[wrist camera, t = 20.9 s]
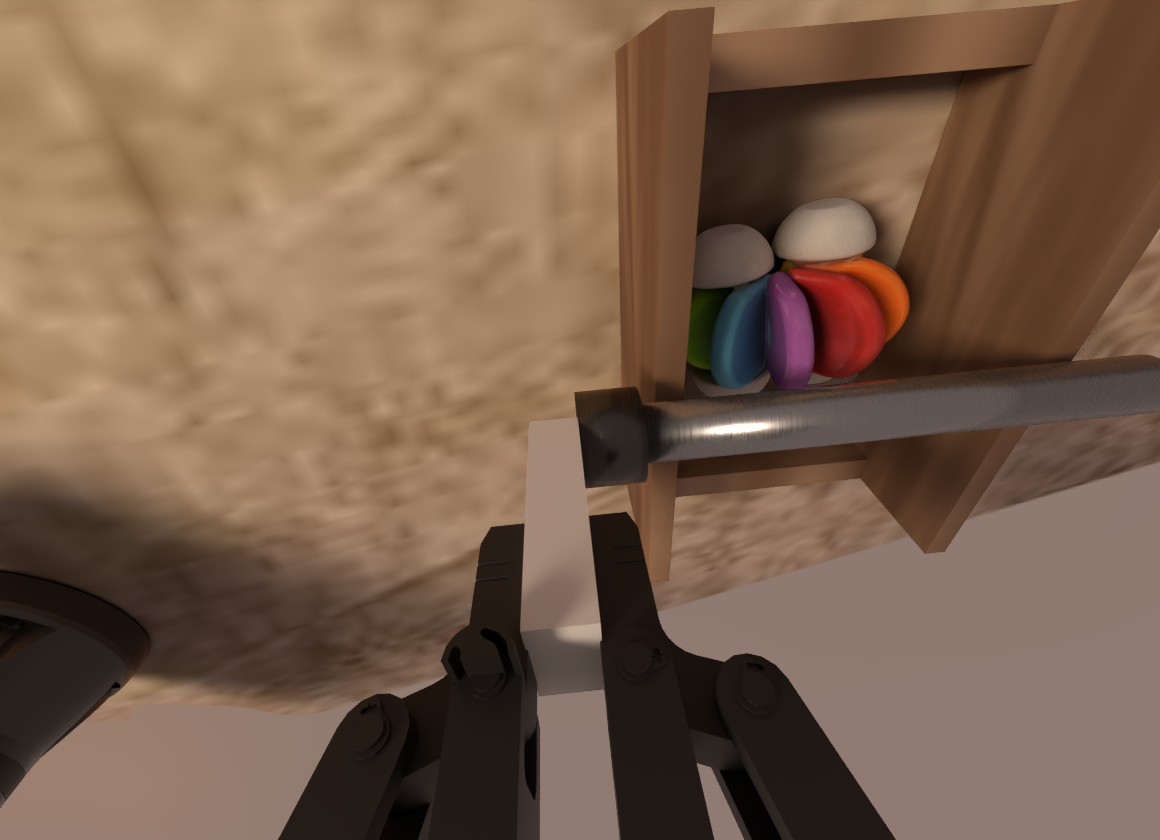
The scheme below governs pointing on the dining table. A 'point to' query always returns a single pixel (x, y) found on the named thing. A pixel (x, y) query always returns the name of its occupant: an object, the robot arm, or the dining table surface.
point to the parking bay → (937, 234)
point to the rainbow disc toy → (791, 301)
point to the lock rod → (852, 412)
